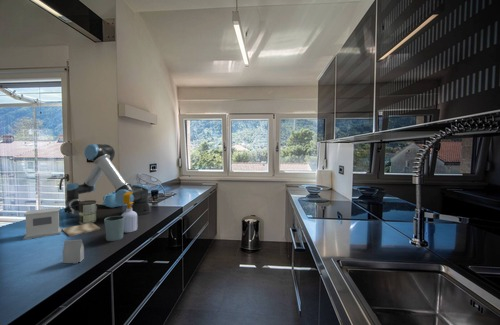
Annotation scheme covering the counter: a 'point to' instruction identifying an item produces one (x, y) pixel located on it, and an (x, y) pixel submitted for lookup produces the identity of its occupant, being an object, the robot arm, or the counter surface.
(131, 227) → the spray bottle
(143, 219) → the counter surface
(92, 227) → the pad
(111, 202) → the decorative pot
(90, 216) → the coffee can
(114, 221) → the green tapered cup
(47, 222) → the label unit
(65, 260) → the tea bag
